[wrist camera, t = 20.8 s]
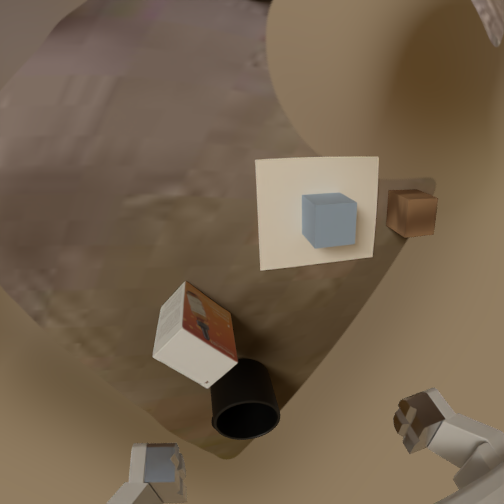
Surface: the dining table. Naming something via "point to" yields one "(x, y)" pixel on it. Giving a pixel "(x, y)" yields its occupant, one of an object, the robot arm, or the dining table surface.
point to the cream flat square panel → (290, 207)
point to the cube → (329, 219)
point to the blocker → (411, 212)
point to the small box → (195, 336)
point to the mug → (244, 402)
